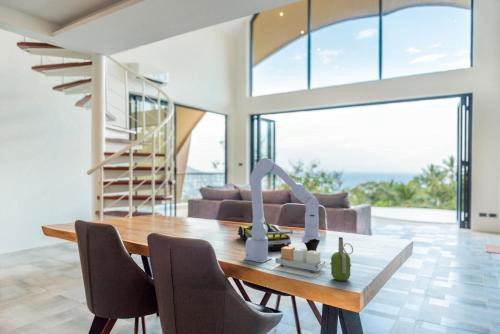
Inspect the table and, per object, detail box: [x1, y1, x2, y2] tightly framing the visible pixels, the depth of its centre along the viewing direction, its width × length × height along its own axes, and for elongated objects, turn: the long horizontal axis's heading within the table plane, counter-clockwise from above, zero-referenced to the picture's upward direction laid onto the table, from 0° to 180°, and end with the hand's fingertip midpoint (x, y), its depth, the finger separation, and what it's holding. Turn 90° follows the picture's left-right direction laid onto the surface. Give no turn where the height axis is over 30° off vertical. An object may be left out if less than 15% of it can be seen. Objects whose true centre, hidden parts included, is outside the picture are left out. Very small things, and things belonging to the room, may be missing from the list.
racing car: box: [237, 222, 294, 251], centre depth 172 cm, size 17×39×12 cm, turn 22°
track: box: [270, 264, 327, 279], centre depth 129 cm, size 19×18×1 cm
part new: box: [280, 246, 296, 261], centre depth 131 cm, size 4×4×5 cm
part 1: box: [294, 248, 308, 263], centre depth 127 cm, size 4×4×5 cm
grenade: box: [330, 236, 354, 282], centre depth 114 cm, size 7×8×15 cm
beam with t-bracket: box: [275, 255, 326, 273], centre depth 130 cm, size 18×14×3 cm
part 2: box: [306, 250, 321, 265], centre depth 124 cm, size 4×4×5 cm
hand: (311, 256), depth 137 cm, fingers closed
